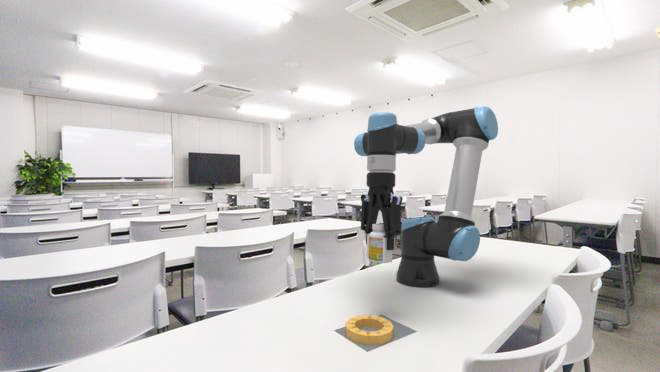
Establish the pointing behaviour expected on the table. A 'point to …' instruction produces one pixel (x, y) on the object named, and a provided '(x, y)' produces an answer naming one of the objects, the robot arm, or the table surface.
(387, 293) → the table surface
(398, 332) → the slate mat
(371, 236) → the supplement bottle
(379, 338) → the golden tan faceted ring
